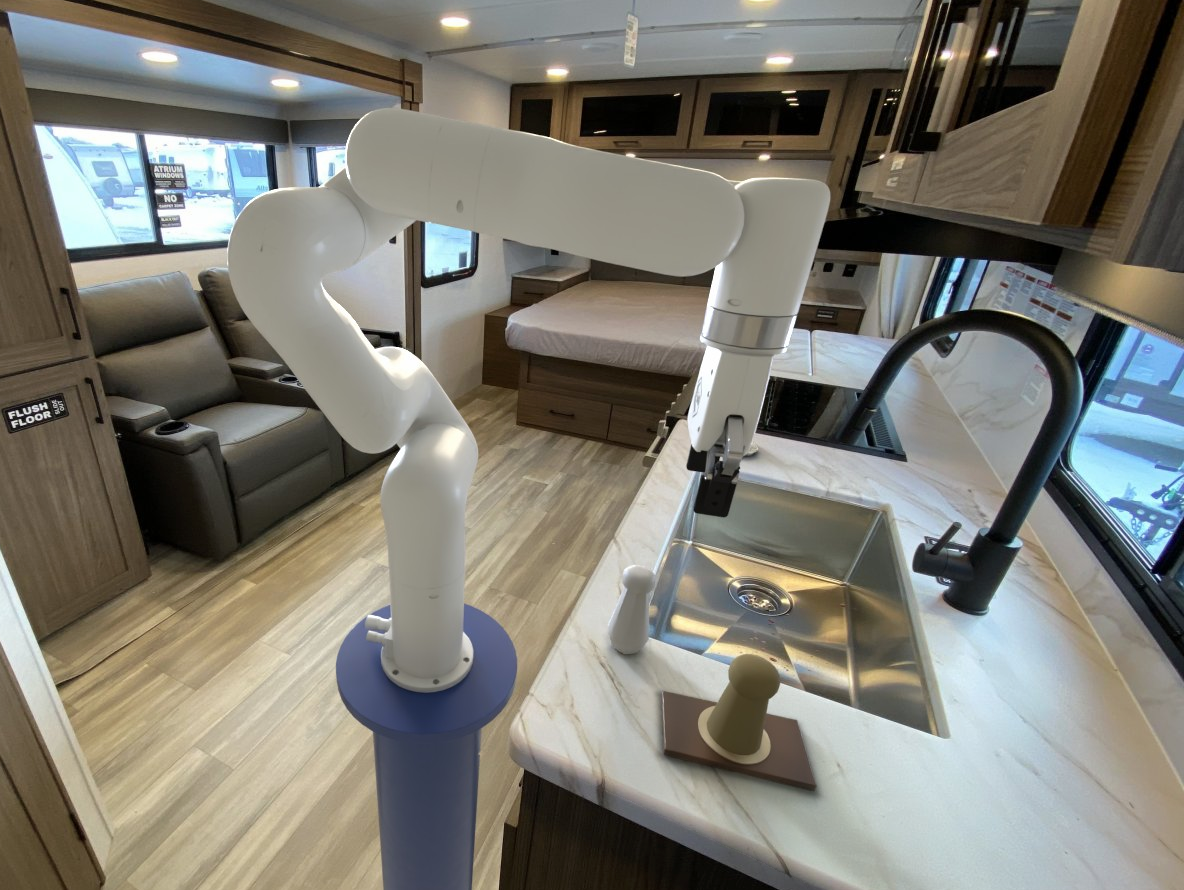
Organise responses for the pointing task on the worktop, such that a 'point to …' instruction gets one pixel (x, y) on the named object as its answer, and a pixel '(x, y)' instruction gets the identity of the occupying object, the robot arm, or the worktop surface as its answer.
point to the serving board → (773, 761)
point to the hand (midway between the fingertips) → (704, 491)
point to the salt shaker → (632, 611)
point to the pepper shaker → (744, 705)
